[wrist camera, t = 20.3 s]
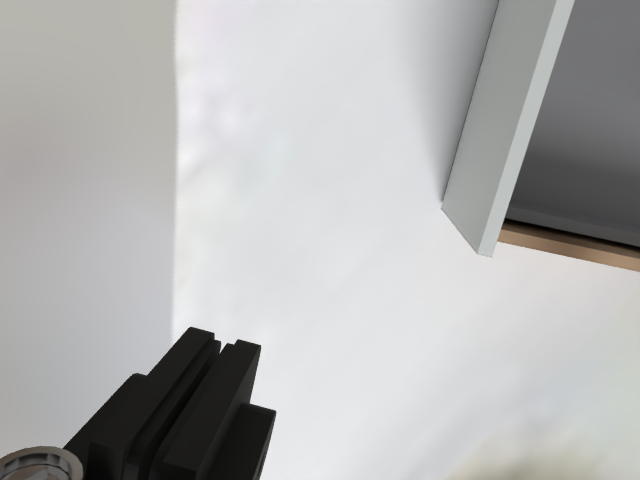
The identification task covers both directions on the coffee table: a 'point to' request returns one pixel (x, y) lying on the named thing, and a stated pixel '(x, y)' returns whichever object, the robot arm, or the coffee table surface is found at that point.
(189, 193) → the coffee table surface
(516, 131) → the sliding tray
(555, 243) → the walnut housing
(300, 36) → the coffee table surface
